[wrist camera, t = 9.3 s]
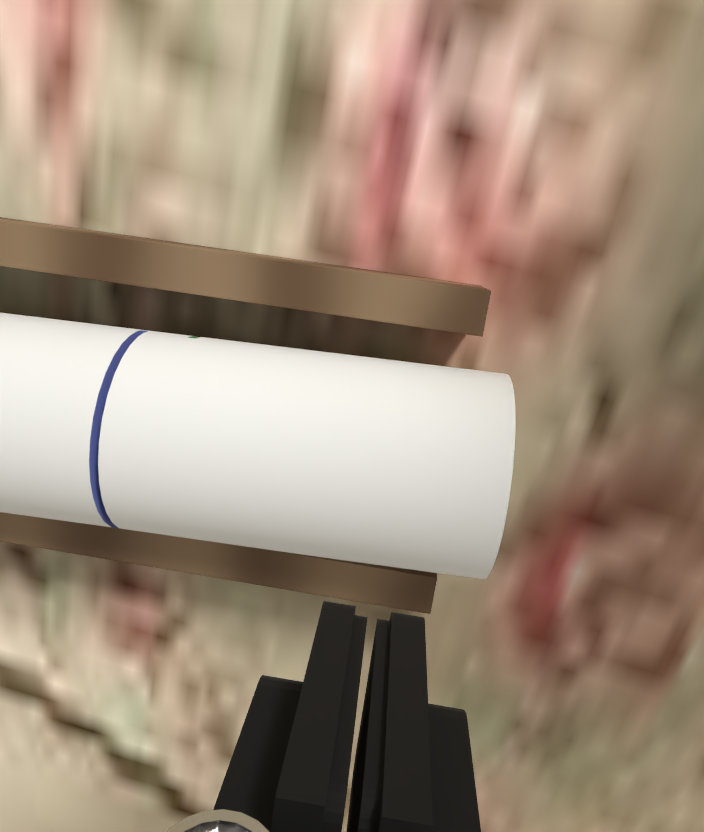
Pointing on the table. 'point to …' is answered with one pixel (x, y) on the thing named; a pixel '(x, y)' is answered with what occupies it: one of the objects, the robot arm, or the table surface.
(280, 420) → the cylindrical container
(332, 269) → the U-rest
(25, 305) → the table surface
